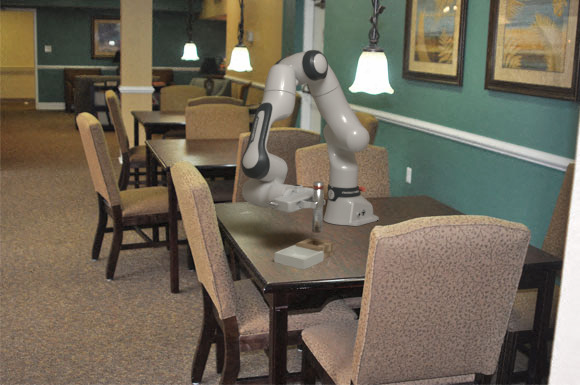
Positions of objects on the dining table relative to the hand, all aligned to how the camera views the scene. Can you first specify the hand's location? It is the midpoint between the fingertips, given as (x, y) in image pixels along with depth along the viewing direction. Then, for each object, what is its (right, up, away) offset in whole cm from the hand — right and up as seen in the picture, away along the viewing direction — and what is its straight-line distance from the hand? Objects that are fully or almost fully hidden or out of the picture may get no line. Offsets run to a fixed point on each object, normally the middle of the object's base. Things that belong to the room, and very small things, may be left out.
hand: (320, 204), depth 209 cm
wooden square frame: (-2, -16, +4) cm, 17 cm away
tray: (-7, -18, -3) cm, 19 cm away
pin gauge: (-1, -9, +3) cm, 9 cm away
